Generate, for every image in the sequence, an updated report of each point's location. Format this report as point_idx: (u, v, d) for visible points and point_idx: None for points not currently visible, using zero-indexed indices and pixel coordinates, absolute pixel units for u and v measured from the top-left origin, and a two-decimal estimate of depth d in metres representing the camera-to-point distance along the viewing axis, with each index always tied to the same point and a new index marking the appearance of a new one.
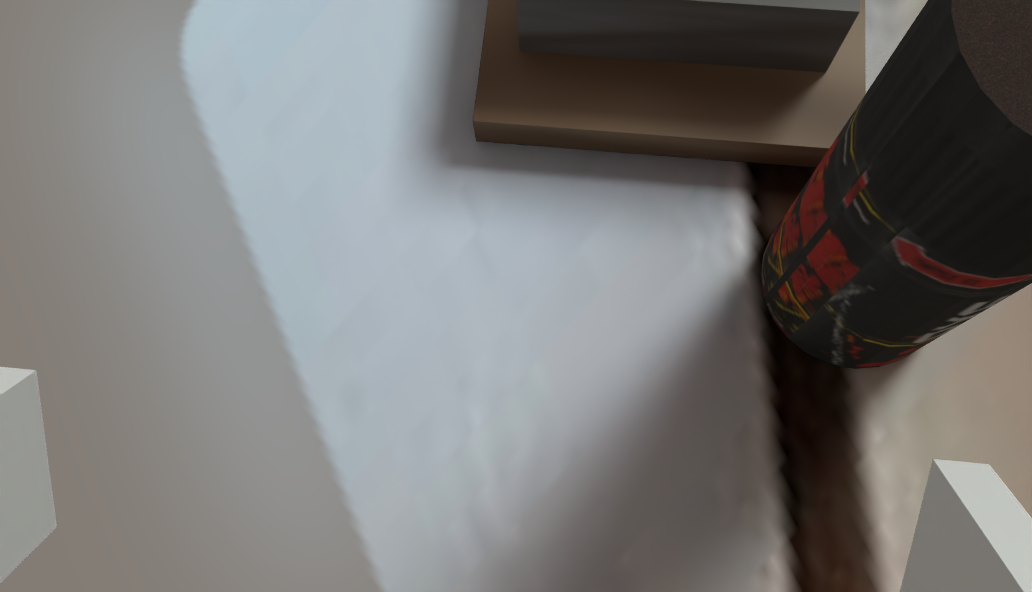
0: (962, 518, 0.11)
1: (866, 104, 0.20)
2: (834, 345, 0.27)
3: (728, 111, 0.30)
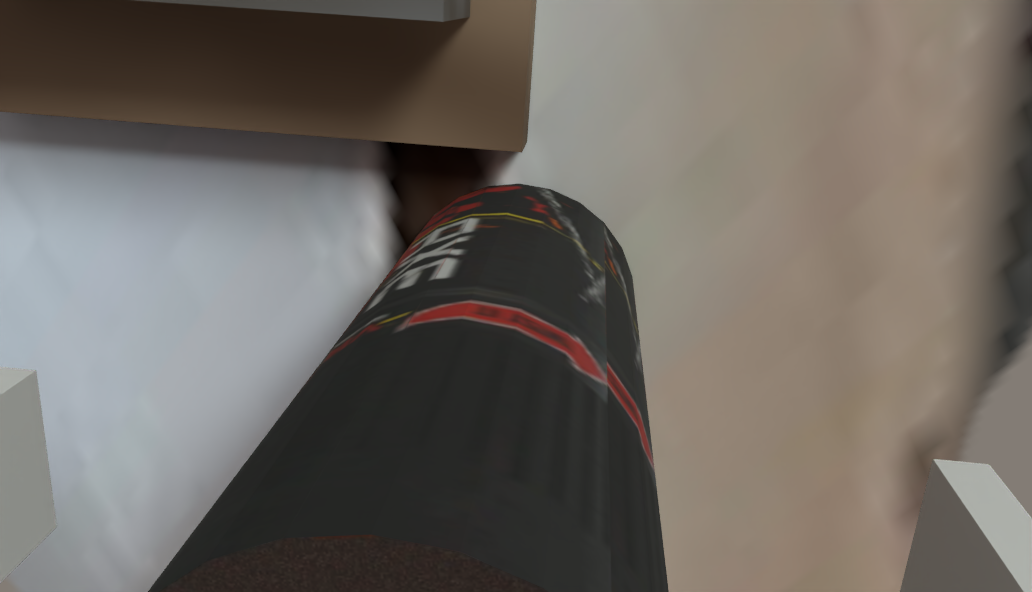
0: (962, 518, 0.11)
1: None
2: None
3: (323, 88, 0.20)
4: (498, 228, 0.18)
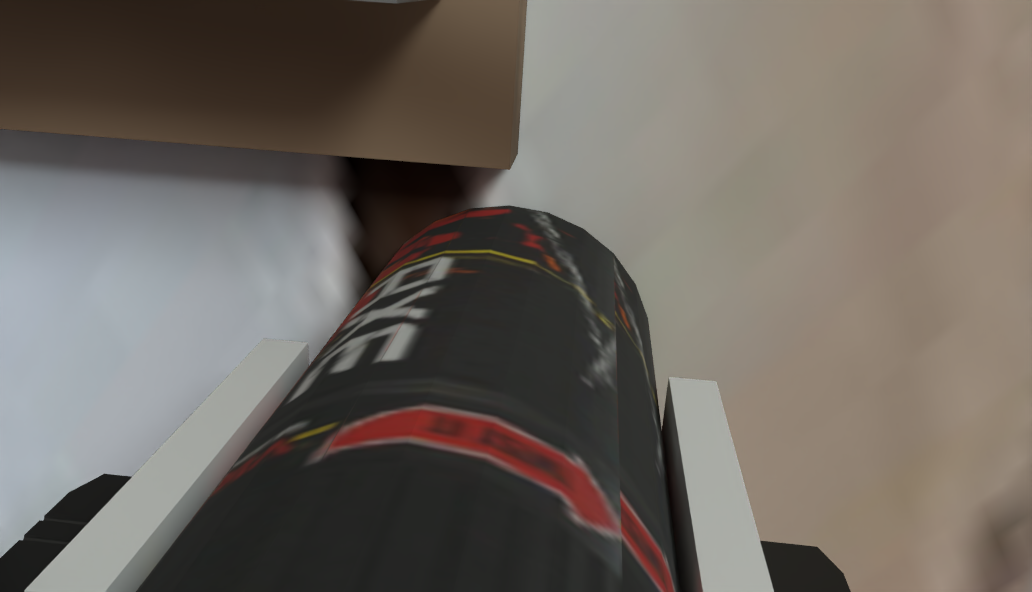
0: (672, 420, 0.13)
1: None
2: None
3: (259, 89, 0.16)
4: (476, 274, 0.14)
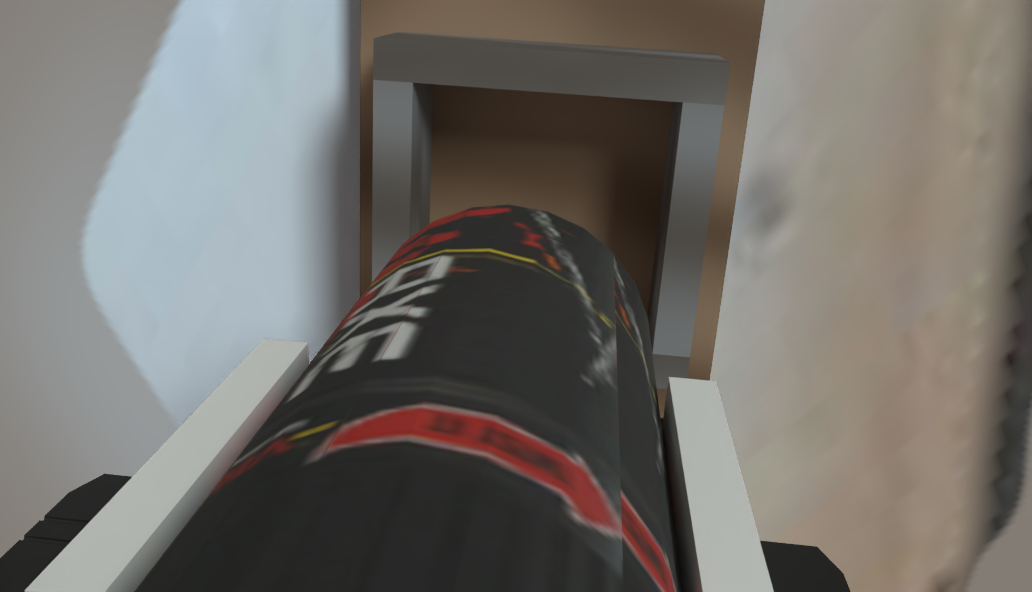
0: (672, 420, 0.13)
1: None
2: None
3: None
4: (476, 273, 0.13)
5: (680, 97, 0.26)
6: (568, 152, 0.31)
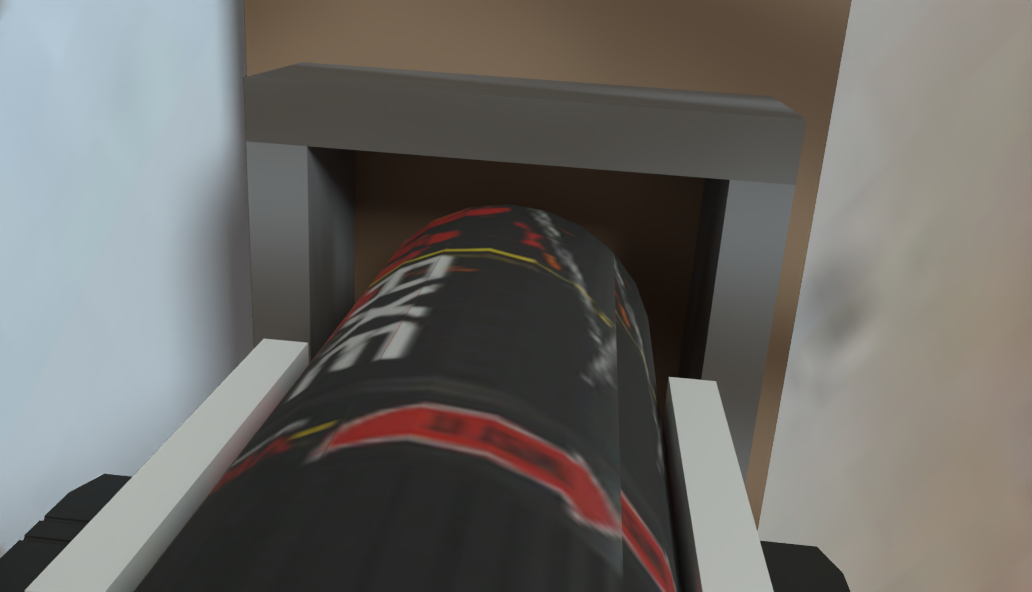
0: (672, 420, 0.13)
1: None
2: None
3: None
4: (476, 273, 0.13)
5: (726, 172, 0.17)
6: None
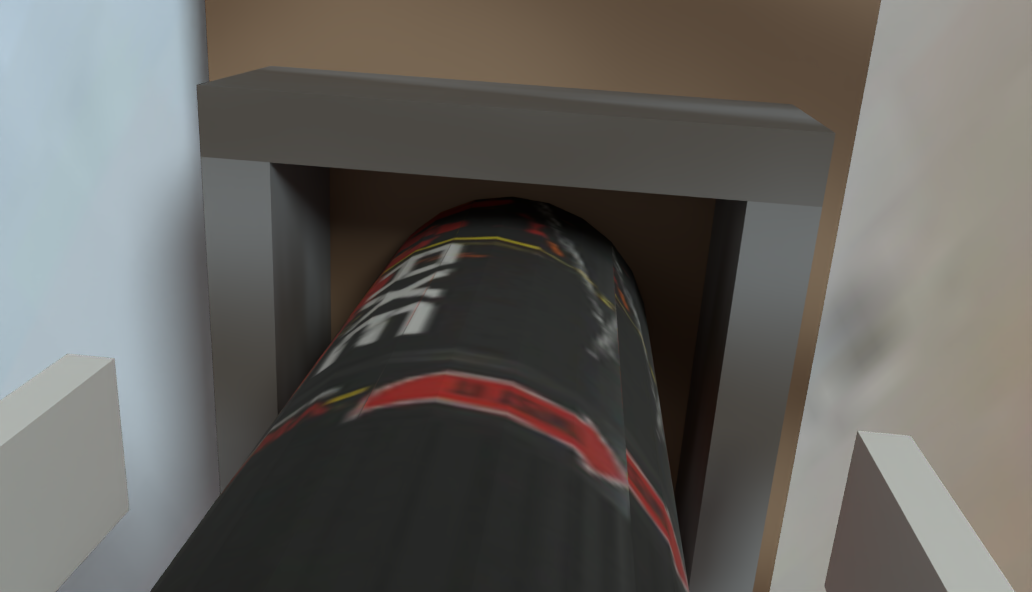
0: (878, 484, 0.12)
1: None
2: None
3: None
4: (486, 258, 0.14)
5: (743, 192, 0.15)
6: None
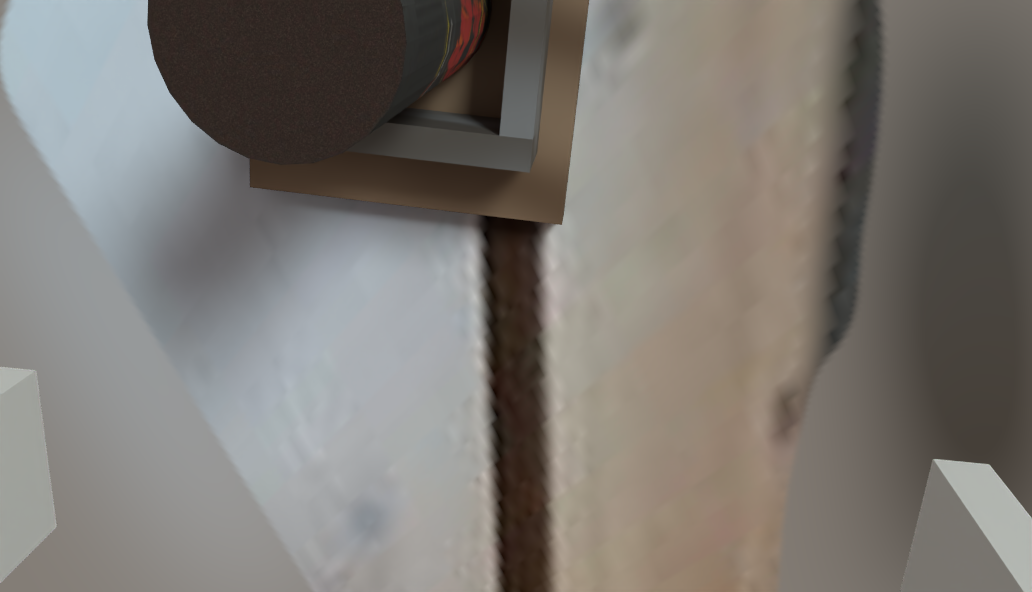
0: (962, 518, 0.11)
1: None
2: None
3: (454, 186, 0.36)
4: None
5: None
6: None
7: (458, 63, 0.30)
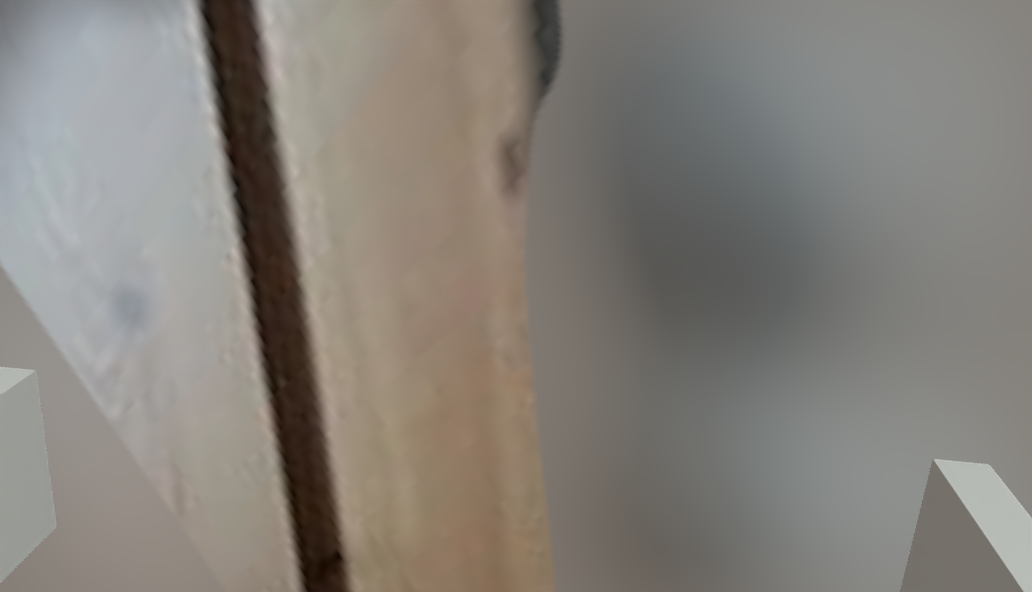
0: (963, 518, 0.11)
1: None
2: None
3: None
4: None
5: None
6: None
7: None
